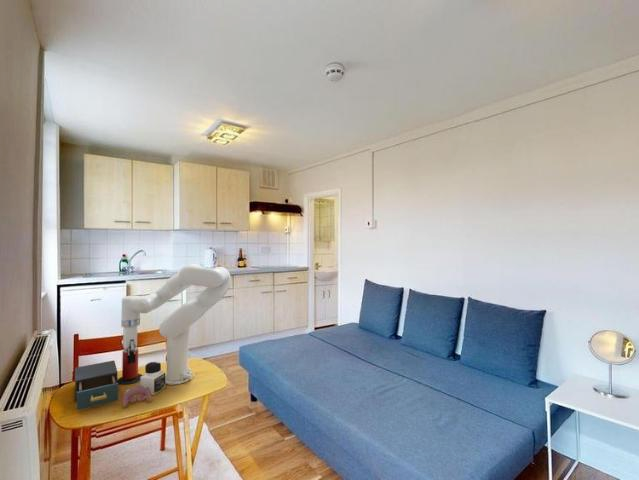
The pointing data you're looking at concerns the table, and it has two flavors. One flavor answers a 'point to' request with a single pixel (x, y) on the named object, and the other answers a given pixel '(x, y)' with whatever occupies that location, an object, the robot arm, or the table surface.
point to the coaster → (129, 380)
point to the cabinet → (94, 372)
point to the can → (129, 366)
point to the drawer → (97, 392)
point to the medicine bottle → (153, 377)
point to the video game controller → (133, 391)
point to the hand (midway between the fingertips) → (130, 360)
